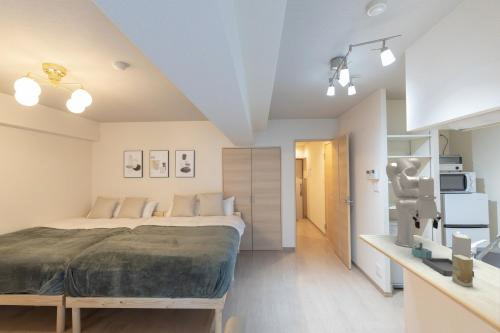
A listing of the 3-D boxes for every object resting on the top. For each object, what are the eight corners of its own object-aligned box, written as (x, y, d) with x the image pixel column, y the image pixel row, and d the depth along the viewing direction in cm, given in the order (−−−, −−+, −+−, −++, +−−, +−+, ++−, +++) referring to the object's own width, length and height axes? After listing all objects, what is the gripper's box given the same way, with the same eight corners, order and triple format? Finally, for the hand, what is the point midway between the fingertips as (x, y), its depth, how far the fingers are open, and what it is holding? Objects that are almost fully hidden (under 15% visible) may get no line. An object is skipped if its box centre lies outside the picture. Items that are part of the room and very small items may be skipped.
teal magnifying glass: (409, 253, 153) (409, 244, 153) (422, 253, 153) (422, 244, 153) (421, 260, 141) (421, 251, 141) (436, 261, 140) (436, 251, 140)
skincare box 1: (451, 260, 142) (451, 232, 142) (466, 261, 139) (466, 234, 139) (456, 265, 134) (455, 236, 134) (472, 267, 131) (471, 237, 131)
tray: (422, 262, 139) (422, 257, 139) (448, 262, 137) (448, 258, 138) (444, 275, 121) (444, 270, 121) (474, 276, 120) (473, 271, 120)
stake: (417, 255, 149) (417, 242, 149) (421, 255, 149) (421, 242, 149) (420, 257, 147) (419, 243, 147) (424, 257, 147) (424, 243, 147)
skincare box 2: (451, 280, 116) (451, 254, 116) (460, 280, 117) (460, 254, 117) (464, 287, 110) (464, 259, 110) (473, 286, 110) (473, 259, 110)
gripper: (437, 197, 146) (437, 226, 146) (406, 197, 147) (407, 226, 147) (446, 199, 138) (446, 230, 138) (414, 199, 140) (414, 229, 140)
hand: (426, 228), depth 143 cm, fingers open, 9 cm apart
